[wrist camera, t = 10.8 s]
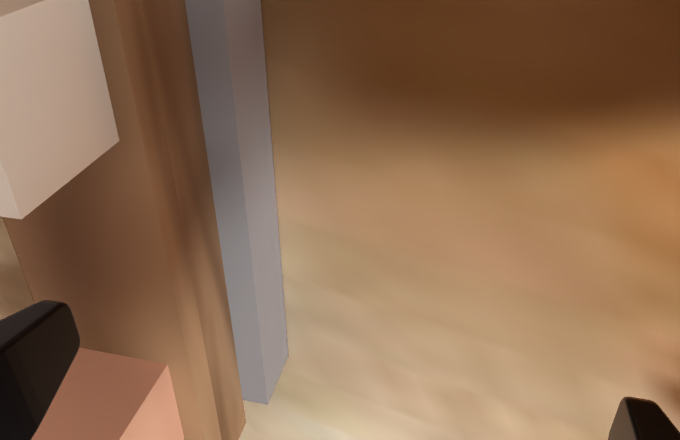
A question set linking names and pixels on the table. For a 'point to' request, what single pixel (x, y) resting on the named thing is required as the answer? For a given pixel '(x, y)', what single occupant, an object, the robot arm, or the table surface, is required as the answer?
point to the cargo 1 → (49, 100)
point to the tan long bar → (145, 224)
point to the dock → (242, 182)
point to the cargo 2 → (113, 401)
